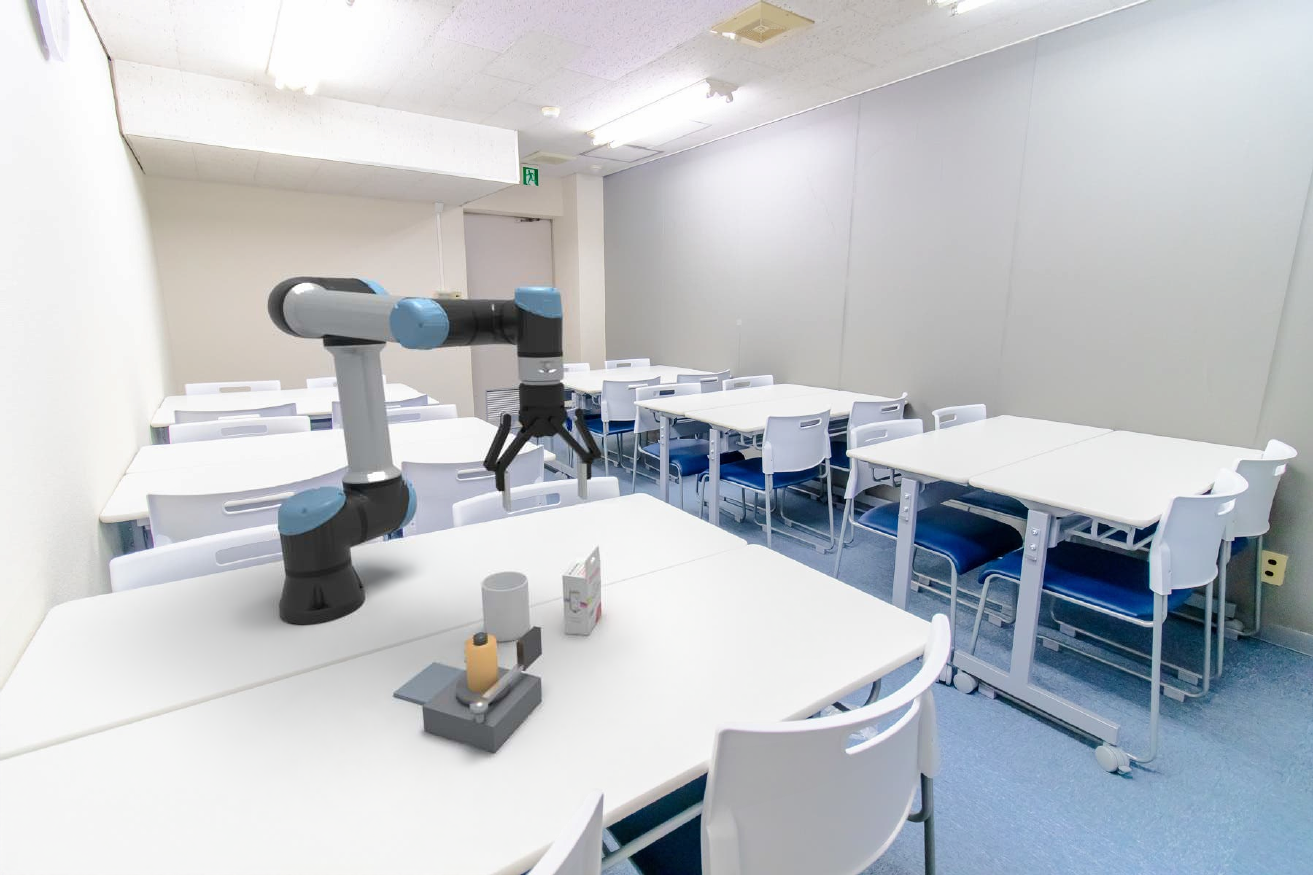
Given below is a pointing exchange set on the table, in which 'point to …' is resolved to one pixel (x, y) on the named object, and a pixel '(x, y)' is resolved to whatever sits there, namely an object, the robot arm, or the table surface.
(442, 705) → the socket block
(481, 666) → the plug
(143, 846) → the table surface
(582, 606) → the ink cartridge box
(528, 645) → the grey lever
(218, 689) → the table surface
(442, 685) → the mat
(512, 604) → the cup
